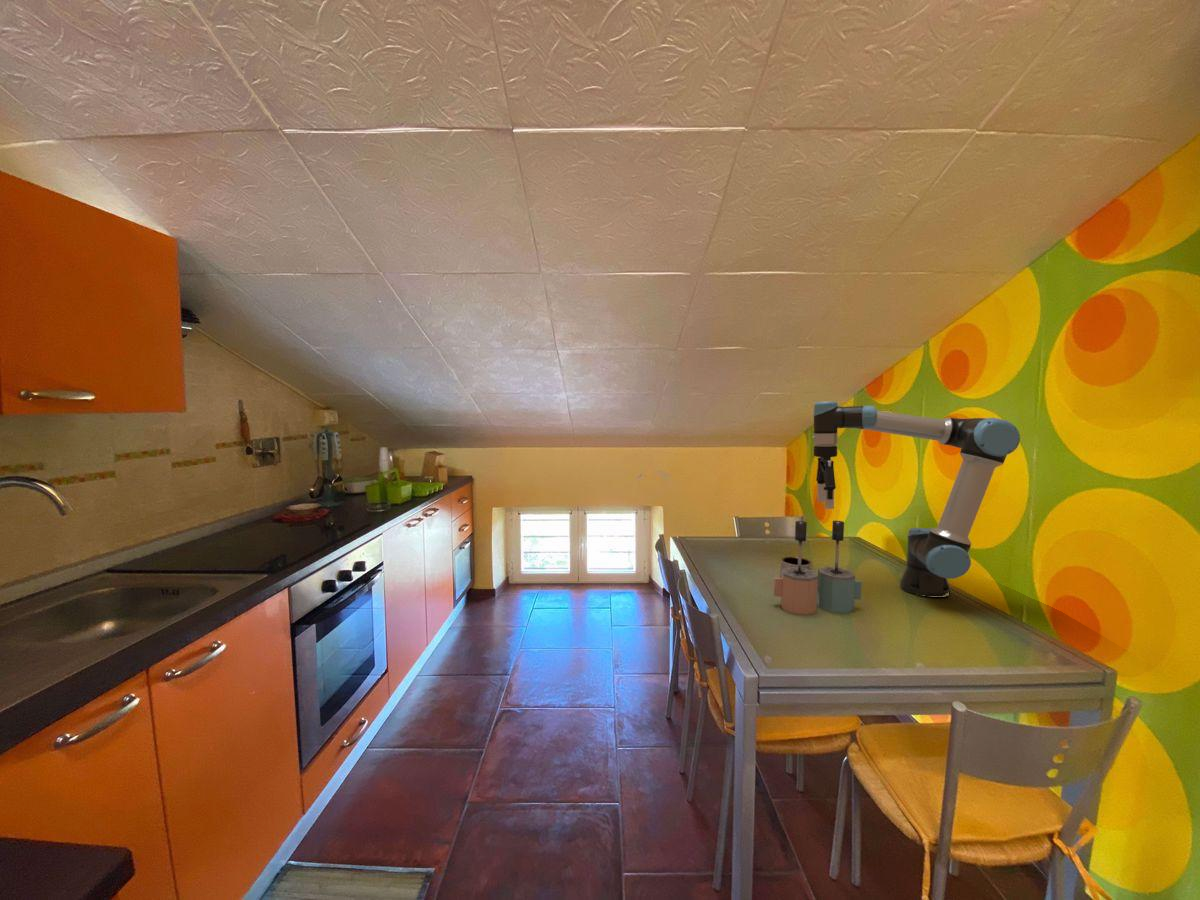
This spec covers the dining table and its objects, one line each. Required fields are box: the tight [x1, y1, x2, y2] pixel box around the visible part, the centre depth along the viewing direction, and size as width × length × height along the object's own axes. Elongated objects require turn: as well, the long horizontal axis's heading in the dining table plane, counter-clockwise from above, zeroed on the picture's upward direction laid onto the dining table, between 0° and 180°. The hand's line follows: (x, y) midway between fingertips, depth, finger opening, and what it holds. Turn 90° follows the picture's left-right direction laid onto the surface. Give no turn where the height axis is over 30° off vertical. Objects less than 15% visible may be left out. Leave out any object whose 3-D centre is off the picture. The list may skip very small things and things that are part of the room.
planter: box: [779, 556, 813, 578], centre depth 179 cm, size 11×11×10 cm
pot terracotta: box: [773, 567, 818, 616], centre depth 158 cm, size 13×10×12 cm
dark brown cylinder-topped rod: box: [831, 520, 845, 574], centre depth 158 cm, size 8×8×20 cm
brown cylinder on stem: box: [794, 520, 808, 575], centre depth 157 cm, size 8×8×20 cm
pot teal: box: [816, 566, 863, 615], centre depth 158 cm, size 13×10×12 cm
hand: (825, 505), depth 169 cm, fingers open, 13 cm apart
